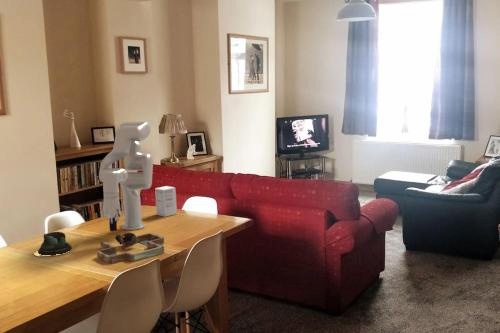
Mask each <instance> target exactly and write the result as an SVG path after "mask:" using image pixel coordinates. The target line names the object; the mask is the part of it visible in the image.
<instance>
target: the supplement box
mask: <svg viewBox="0 0 500 333" xmlns="http://www.w3.org/2000/svg"><path fill="white" fill-rule="evenodd" d="M154 190H155V191H154V192H155V208H156V209H155V210H156V215H158V216H161V217H164V218H165V217H169V216H174V215H177V214H178V211H177V210H178V208H177V193H176V192H177V191H176V187H174V186H169V185H165V186H161V187H155V189H154Z"/></svg>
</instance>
